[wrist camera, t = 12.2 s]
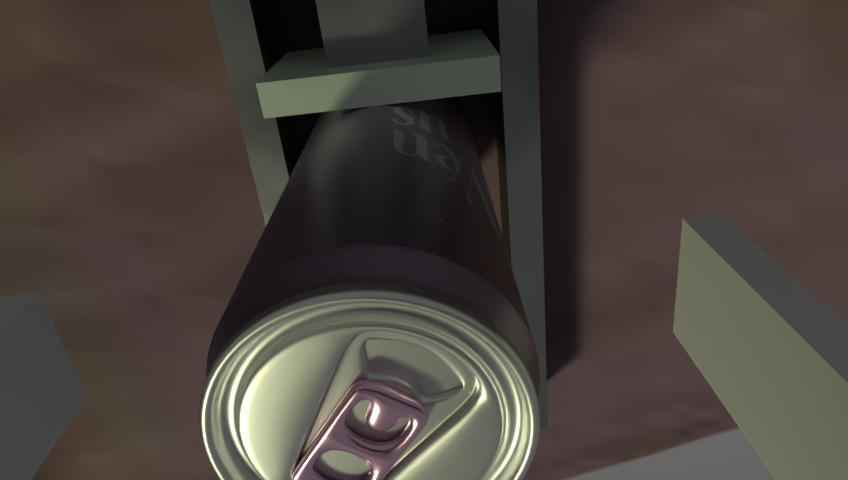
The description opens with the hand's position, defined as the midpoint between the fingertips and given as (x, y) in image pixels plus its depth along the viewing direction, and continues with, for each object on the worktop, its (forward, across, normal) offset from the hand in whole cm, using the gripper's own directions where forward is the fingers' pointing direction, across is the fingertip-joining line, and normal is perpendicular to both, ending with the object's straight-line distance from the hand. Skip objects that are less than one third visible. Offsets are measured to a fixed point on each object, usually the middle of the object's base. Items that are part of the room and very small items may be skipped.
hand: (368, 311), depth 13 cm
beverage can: (+12, 0, 0) cm, 12 cm away
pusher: (+11, +1, +4) cm, 12 cm away
